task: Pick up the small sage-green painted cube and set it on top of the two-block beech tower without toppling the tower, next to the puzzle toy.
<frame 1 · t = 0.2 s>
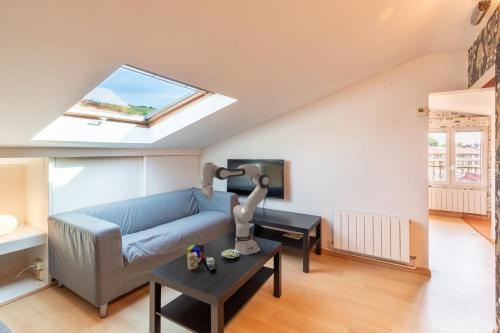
hand: (207, 199, 203), 47 cm above the table, fingers open, 8 cm apart
tower mid: (192, 260, 188), point 5 cm above the table, touching tower base
tower base: (192, 267, 189), on the table, touching tower mid
sage cube: (210, 265, 192), on the table
puzzle toy: (195, 259, 202), on the table
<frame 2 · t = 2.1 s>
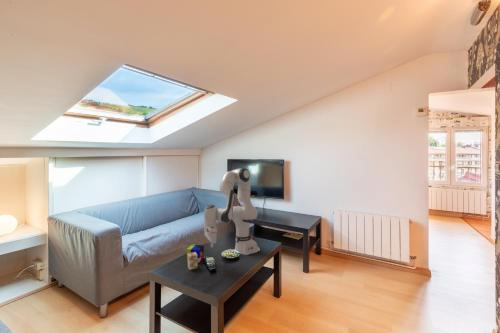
hand: (210, 245, 191), 16 cm above the table, fingers open, 8 cm apart
nothing on the table moved.
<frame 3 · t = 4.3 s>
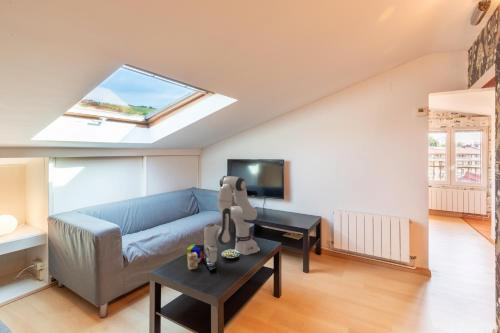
hand: (210, 263, 192), 2 cm above the table, fingers closed on sage cube, 5 cm apart
sage cube: (210, 265, 192), on the table, touching gripper
everything else where it was.
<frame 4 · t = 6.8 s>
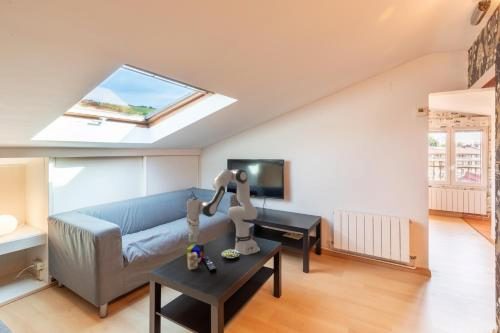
hand: (192, 238, 187), 22 cm above the table, fingers closed on sage cube, 5 cm apart
sage cube: (192, 240, 187), point 20 cm above the table, touching gripper
everything else where it was.
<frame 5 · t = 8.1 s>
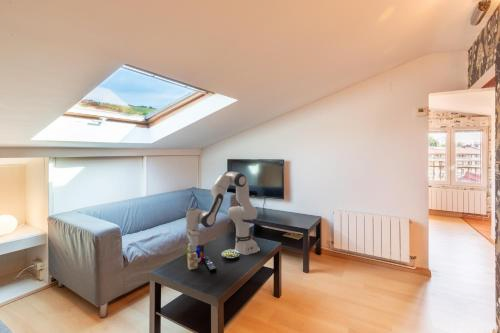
hand: (192, 248, 187), 15 cm above the table, fingers closed on sage cube, 5 cm apart
sage cube: (192, 250, 187), point 13 cm above the table, touching gripper
everything else where it was.
when the fingers open (13 cm above the table, at t = 9.3 s): sage cube drops 1 cm, resting on tower mid.
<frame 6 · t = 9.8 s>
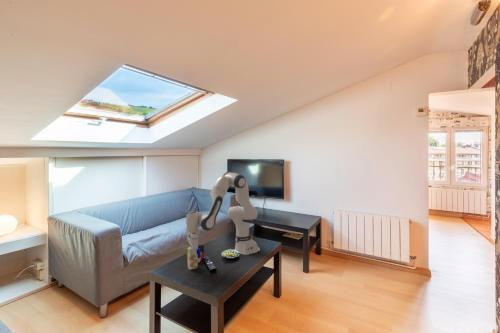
hand: (192, 250, 188), 13 cm above the table, fingers open, 8 cm apart
tower mid: (192, 260, 188), point 5 cm above the table, touching sage cube, tower base
sage cube: (192, 254, 188), point 10 cm above the table, touching tower mid
everything else where it was.
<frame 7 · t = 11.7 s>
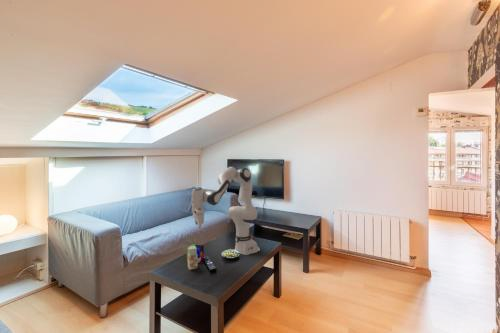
hand: (198, 226, 195), 28 cm above the table, fingers open, 8 cm apart
nothing on the table moved.
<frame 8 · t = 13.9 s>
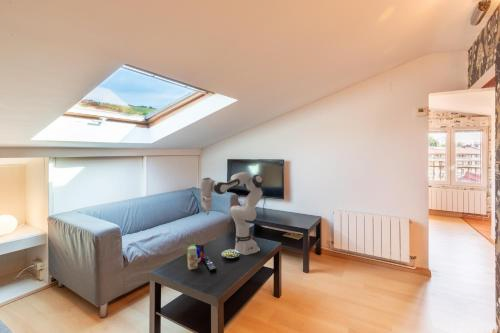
hand: (206, 213, 212), 34 cm above the table, fingers open, 8 cm apart
nothing on the table moved.
at the end: sage cube 0.0 cm off-centre on the tower base, point 10.0 cm above the tower base's base; tower mid tilted 0°; sage cube tilted 0° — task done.
